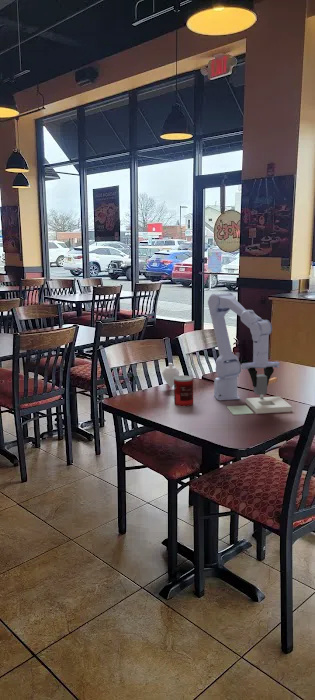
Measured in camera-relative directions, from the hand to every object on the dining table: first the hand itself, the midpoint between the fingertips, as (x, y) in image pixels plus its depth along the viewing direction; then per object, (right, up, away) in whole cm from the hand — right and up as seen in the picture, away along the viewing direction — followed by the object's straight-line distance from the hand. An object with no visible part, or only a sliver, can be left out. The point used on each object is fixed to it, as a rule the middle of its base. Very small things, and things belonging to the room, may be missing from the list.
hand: (260, 386), depth 200 cm
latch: (+5, 0, +10) cm, 11 cm away
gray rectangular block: (0, -3, 0) cm, 3 cm away
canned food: (-29, -8, +11) cm, 32 cm away
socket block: (+3, -9, +3) cm, 10 cm away
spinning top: (-34, -4, +33) cm, 47 cm away
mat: (-8, -9, 0) cm, 12 cm away
